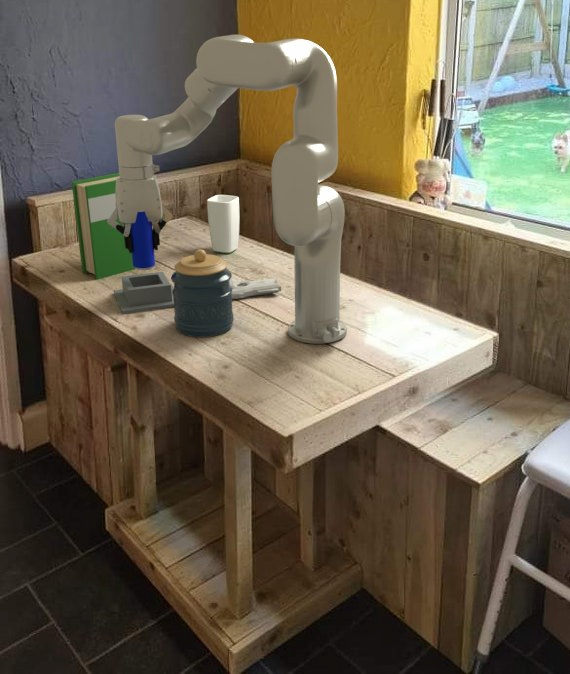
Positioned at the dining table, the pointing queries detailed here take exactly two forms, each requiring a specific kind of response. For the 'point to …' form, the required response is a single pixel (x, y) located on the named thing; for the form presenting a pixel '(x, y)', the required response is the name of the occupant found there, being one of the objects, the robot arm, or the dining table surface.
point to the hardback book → (99, 227)
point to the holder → (144, 293)
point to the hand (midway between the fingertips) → (142, 249)
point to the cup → (223, 222)
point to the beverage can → (142, 242)
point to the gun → (253, 287)
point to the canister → (202, 295)
